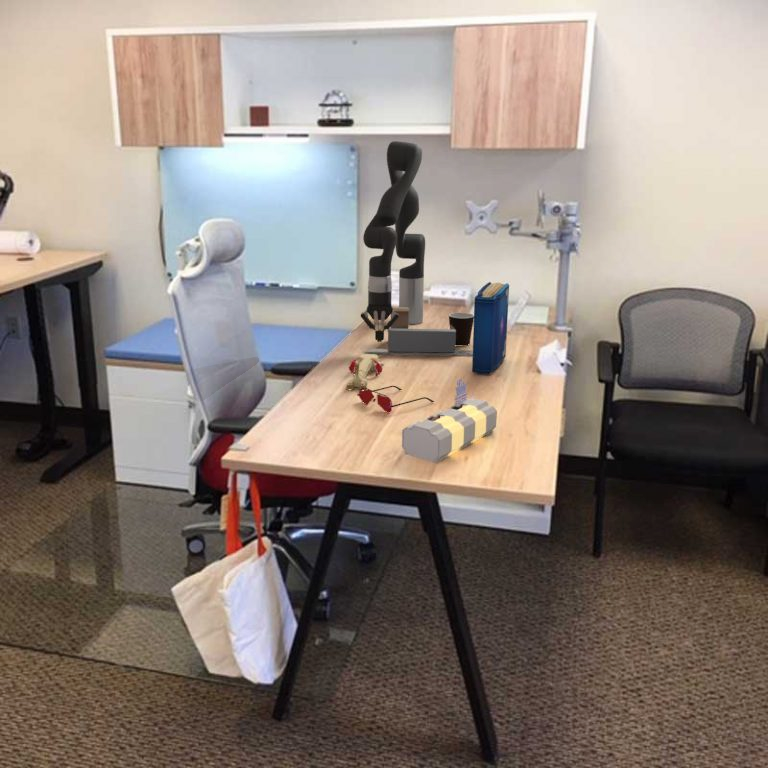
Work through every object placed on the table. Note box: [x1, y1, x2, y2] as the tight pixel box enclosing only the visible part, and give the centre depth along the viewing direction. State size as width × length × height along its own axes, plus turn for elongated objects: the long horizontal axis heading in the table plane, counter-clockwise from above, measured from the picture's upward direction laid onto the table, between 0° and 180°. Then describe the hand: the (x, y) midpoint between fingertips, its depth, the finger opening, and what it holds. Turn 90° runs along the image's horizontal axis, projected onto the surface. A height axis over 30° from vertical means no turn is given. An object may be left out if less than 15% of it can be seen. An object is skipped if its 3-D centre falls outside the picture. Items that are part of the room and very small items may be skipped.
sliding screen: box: [387, 327, 456, 352], centre depth 268 cm, size 3×22×7 cm, turn 88°
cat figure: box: [345, 353, 385, 391], centre depth 243 cm, size 10×9×25 cm
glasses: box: [356, 385, 435, 413], centre depth 222 cm, size 14×16×5 cm
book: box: [471, 281, 510, 375], centre depth 252 cm, size 22×7×25 cm, turn 161°
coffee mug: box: [448, 312, 474, 346], centre depth 282 cm, size 12×9×10 cm
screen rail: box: [364, 348, 473, 357], centre depth 270 cm, size 4×40×1 cm, turn 88°
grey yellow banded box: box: [401, 378, 498, 463], centre depth 193 cm, size 25×10×13 cm, turn 142°
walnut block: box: [390, 306, 409, 329], centre depth 280 cm, size 6×6×12 cm
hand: (379, 341), depth 269 cm, fingers closed
